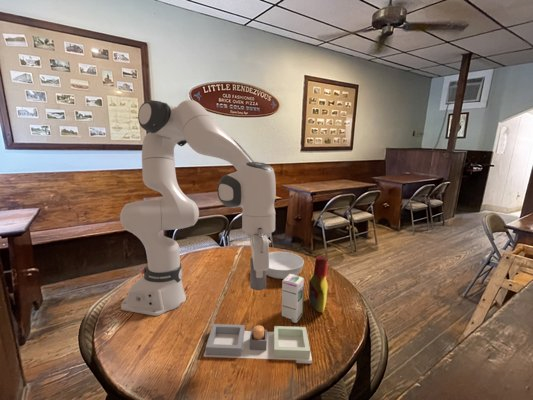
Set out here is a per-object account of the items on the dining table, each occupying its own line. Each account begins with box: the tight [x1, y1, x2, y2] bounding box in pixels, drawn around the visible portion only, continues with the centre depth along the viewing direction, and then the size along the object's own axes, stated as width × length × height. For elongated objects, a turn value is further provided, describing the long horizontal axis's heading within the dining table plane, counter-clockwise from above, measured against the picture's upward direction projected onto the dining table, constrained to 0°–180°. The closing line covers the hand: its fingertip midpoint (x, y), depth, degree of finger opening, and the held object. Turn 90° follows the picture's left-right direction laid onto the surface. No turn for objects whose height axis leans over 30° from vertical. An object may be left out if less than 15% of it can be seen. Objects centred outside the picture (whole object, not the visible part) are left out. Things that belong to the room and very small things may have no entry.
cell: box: [249, 257, 267, 291], centre depth 74 cm, size 4×4×9 cm
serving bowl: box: [266, 251, 305, 280], centre depth 124 cm, size 21×21×7 cm
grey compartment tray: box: [203, 323, 313, 365], centre depth 79 cm, size 30×11×4 cm, turn 89°
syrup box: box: [281, 274, 305, 324], centre depth 92 cm, size 6×6×14 cm
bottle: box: [308, 255, 329, 313], centre depth 98 cm, size 12×6×20 cm, turn 178°
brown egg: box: [253, 324, 265, 340], centre depth 78 cm, size 3×3×4 cm
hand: (258, 271), depth 74 cm, fingers closed on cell, 4 cm apart
